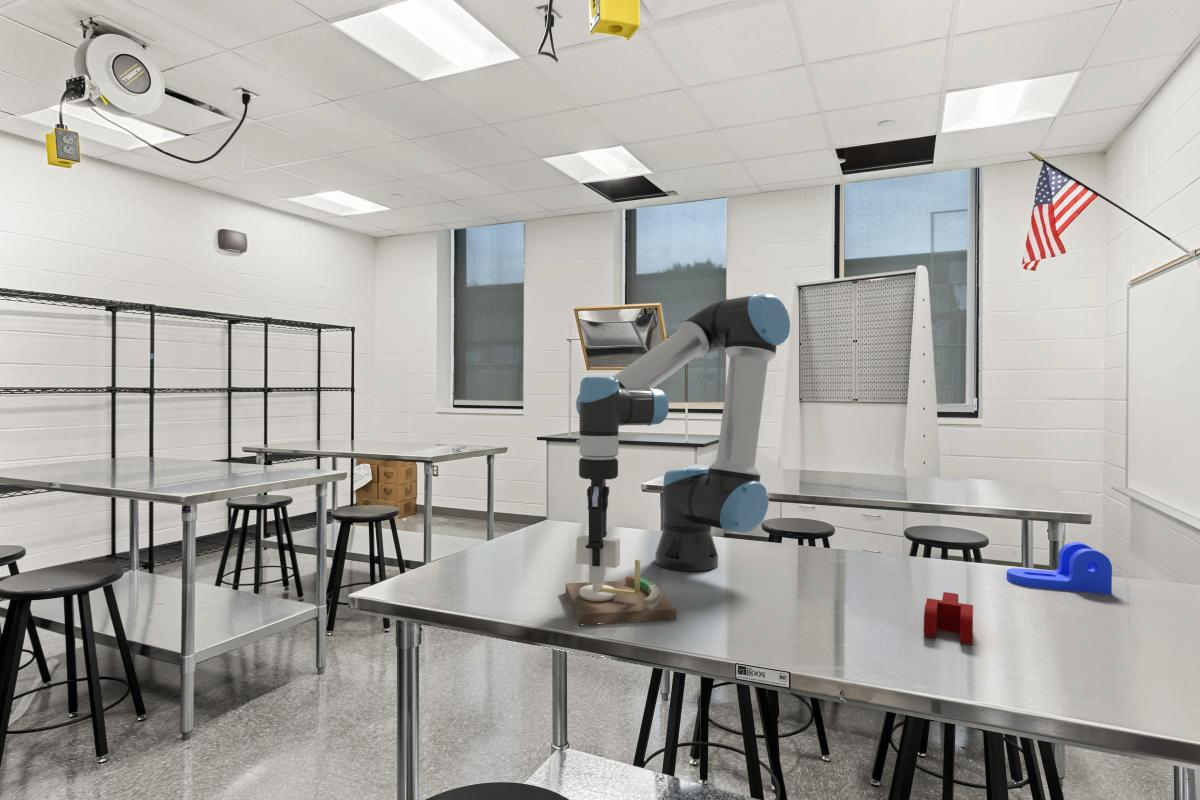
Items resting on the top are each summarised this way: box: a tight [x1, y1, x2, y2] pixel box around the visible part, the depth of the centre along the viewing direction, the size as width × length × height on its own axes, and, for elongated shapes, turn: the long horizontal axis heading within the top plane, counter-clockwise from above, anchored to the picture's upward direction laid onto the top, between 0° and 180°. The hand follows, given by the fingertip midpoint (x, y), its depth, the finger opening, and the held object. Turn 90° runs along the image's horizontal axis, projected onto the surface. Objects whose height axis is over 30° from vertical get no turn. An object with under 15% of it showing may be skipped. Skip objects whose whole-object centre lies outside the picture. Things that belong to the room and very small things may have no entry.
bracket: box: [1006, 541, 1113, 595], centre depth 140 cm, size 18×8×9 cm, turn 72°
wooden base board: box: [565, 574, 678, 626], centre depth 123 cm, size 18×18×4 cm
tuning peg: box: [576, 534, 641, 601], centre depth 121 cm, size 7×12×11 cm, turn 68°
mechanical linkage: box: [923, 591, 974, 646], centre depth 113 cm, size 16×7×5 cm, turn 149°
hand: (597, 578), depth 122 cm, fingers closed on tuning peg, 3 cm apart
